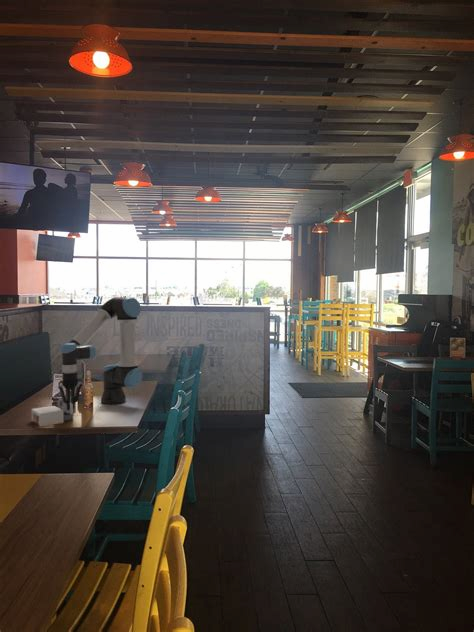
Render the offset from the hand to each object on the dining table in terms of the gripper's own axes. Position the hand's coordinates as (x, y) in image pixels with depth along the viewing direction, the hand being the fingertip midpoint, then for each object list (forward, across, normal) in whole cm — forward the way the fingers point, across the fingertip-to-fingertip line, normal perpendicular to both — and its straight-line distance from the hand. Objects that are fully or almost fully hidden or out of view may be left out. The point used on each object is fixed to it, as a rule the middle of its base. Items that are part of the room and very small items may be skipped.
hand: (70, 415), depth 281 cm
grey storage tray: (+2, -8, 0) cm, 8 cm away
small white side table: (+2, -12, 0) cm, 12 cm away
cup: (+2, +4, +17) cm, 17 cm away
